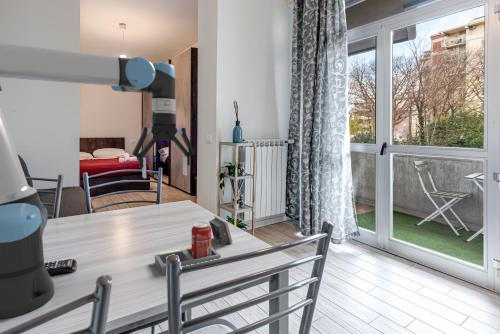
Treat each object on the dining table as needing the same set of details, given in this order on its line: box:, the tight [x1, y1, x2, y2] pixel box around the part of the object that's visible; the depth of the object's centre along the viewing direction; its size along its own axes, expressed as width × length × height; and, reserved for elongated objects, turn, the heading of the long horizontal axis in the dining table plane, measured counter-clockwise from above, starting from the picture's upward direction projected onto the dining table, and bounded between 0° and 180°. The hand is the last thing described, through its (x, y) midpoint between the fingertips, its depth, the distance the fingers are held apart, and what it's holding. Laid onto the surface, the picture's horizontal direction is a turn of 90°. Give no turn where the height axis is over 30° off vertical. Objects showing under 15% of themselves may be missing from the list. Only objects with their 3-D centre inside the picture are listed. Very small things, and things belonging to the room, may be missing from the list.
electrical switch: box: [208, 215, 233, 246], centre depth 118 cm, size 9×5×9 cm, turn 32°
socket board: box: [154, 246, 221, 276], centre depth 100 cm, size 19×9×3 cm, turn 118°
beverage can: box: [191, 221, 212, 259], centre depth 102 cm, size 6×6×12 cm
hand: (165, 176), depth 105 cm, fingers open, 13 cm apart
